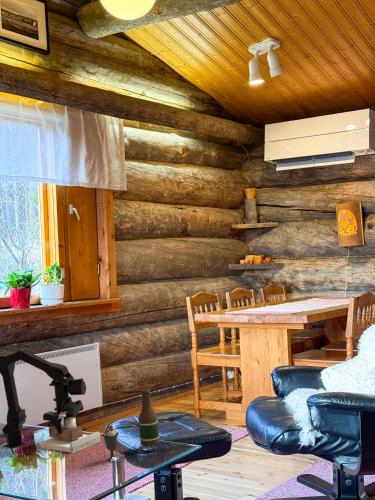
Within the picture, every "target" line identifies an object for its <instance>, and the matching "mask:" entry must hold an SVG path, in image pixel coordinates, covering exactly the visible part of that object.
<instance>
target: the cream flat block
mask: <svg viewBox="0 0 375 500" xmlns="http://www.w3.org/2000/svg"><path fill="white" fill-rule="evenodd" d="M100 436H101V435H100V432H99V431H95V432H92V433H91V434H84V433H83V437H80V438H78V439H75V440H73V441H72V440H66V439H59V438H53V437H49V438H48V439H46V440H43V441H40V442H39V448H42V449H48V450H53V451H58V452H59V451H60V452H66V453H70V454H71V453H72V454H74V453H76V452H79V451H81V450H83V449H85V448H88V447H90V446H92V445H95V444H97V443H99V442H101V437H100Z"/></svg>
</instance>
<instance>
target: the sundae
mask: <svg viewBox="0 0 375 500" xmlns="http://www.w3.org/2000/svg"><path fill="white" fill-rule="evenodd" d="M113 424H114V422H111V423H110V425H109V426H108V427H105V431H104V433H102V434H101V437H102V438H103V439H104V442H105V444H104V445H105V448H106V449H107V450H108V451H109V452H110V457H108V458H106V461H107V462H110V461H111V459H112V457H116V456H115V453H114V451H115V450H116V449H117V447H118V446H117V445H118V436H119V435H120V432H117V431H116V430H115V428H114V427H113V426H114V425H113ZM110 463H111V462H110Z"/></svg>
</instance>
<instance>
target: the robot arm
mask: <svg viewBox="0 0 375 500" xmlns="http://www.w3.org/2000/svg"><path fill="white" fill-rule="evenodd" d="M19 361H22V362H24V363H26V364H28V365H30V366H32V367H35V368H36V369H38V370H40V371H42V372H44V373H45V374H46V375H47V377H49V378H50V379H52V380H51V382H50V383H49V385H48V386H49V387H53V388H54V398H53V402H55V407H54V411H52V410H51V411H46V412H44V413H43V414H42V420H43V421H45V422H46V421H47V422H51V424H53V425H52V426H55V428H56V430H57V431H58V433H59V434H61V421H62V418H60V416H63V415H65V417H66V418H65V419H67V418H72V417H74V418H75V419H76V417H77V416H78V414H80V412H81V411H84V409H85V408H84V405H83V401H82V400H80V399H78V400H76V401H74V400H72V399H73V398H72V396H82V395H83V396H85V395H86V392H87V384H86V382H85V381H84V378H83V377H82V378H74V376H73V374H71V373H70V371H69V369H68V367H67V366H66V365H64V364H60V363H56V362H50V361H48V360H46V359H44V358H42V357H40V356H39V355H36V354H35V353H32V352H31V351H28V350H27V349H24V348H23V349H20V350H18V351H17V352H16V351H15V352H12V353H9V352H8V353H7V352H6V353H5V354H2V355H0V375H1V377H2V382H3V387H4V392H5V393H4V394H5V398H6V403H7V404H6V405H7V414H6V424H5V426H3V428H2V429H1V430H2V433H3V435H5V440H6V444H4V445H3V447H6V448H11V449H15V448H18V447H20V446H23V445H25V444H26V443H25V442H24V441H23V440H22V432H21V429H23V426H24V424H25V423H26V422H27V421H26V419H27V418H28V417H27V414H26V409H25V408H22V407H21V406H20V403H19V396H18V391H17V386H16V380H15V375H14V372H15V370H16V369H15V368H16V362H19ZM70 395H71V396H70Z"/></svg>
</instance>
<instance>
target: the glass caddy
mask: <svg viewBox="0 0 375 500" xmlns="http://www.w3.org/2000/svg"><path fill="white" fill-rule="evenodd" d="M60 418H62V421H61V434H59V433H58V431H57V430H56V428H55V426H54V425H52V426H49V428H48V433H49V435H48V436H49V438H59V439H66V440H72V441H73V440H75V439H78V438H80V437H83V434H84V433H83V427H82V426H77V422H76V421H77V420H76V417H75V418H74V417H72V418H65V417H64V415H60Z"/></svg>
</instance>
